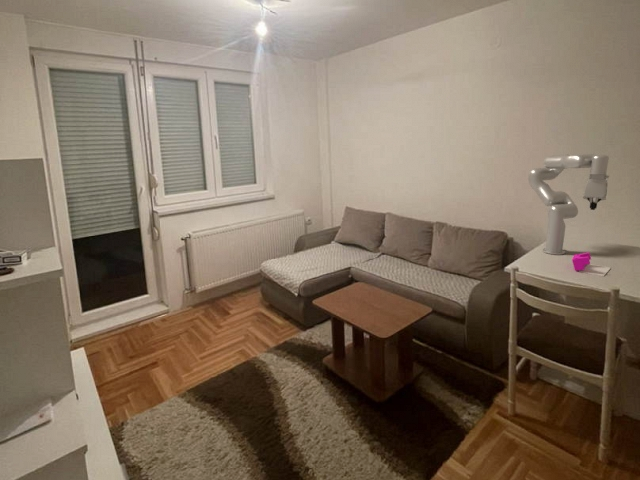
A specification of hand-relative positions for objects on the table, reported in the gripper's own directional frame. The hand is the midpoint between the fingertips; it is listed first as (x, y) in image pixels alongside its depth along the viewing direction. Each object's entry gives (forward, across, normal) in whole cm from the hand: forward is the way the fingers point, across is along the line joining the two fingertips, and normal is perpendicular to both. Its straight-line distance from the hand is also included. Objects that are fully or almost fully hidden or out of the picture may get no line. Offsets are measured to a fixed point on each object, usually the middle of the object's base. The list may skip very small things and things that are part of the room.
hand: (592, 209), depth 217 cm
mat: (+32, -7, +12) cm, 35 cm away
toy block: (+29, +2, +15) cm, 33 cm away
